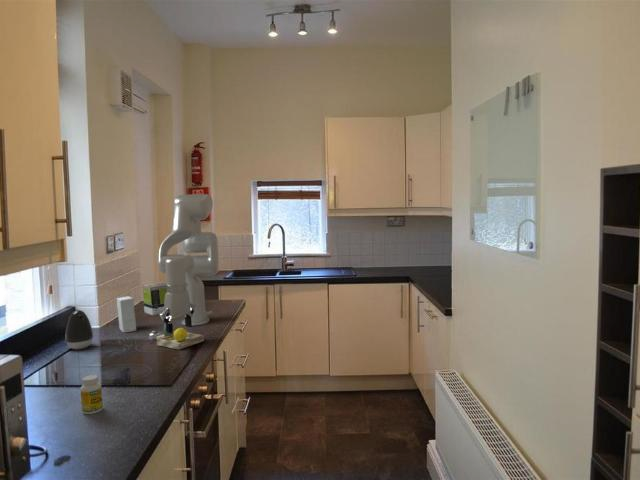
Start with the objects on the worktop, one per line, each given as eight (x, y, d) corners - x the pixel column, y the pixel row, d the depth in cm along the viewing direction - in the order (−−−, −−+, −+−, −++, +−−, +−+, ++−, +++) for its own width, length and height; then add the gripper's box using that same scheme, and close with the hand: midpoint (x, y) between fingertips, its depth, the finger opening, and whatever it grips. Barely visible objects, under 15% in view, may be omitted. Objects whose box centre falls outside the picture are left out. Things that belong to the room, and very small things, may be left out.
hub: (156, 336, 216) (155, 328, 215) (163, 337, 213) (163, 330, 213) (146, 339, 212) (146, 331, 211) (154, 340, 209) (153, 333, 209)
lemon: (173, 340, 206) (172, 327, 206) (187, 339, 208) (186, 326, 208) (174, 343, 199) (173, 329, 200) (188, 341, 201) (187, 328, 201)
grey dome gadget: (72, 353, 195) (69, 314, 194) (62, 348, 202) (59, 311, 201) (98, 346, 203) (96, 309, 201) (87, 342, 210) (85, 306, 208)
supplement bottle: (93, 405, 145) (91, 373, 144) (107, 408, 143) (105, 375, 142) (77, 412, 140) (75, 379, 139) (91, 416, 138) (88, 382, 137)
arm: (147, 343, 205) (146, 326, 204) (172, 335, 216) (171, 319, 215) (179, 349, 195) (178, 332, 194) (203, 340, 206) (203, 324, 205)
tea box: (170, 307, 272) (169, 280, 270) (179, 310, 264) (178, 282, 263) (143, 312, 261) (142, 284, 260) (152, 315, 254) (150, 286, 253)
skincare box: (136, 330, 226) (134, 298, 224) (122, 333, 222) (120, 300, 221) (132, 327, 233) (130, 295, 231) (118, 329, 229) (116, 297, 228)
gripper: (186, 283, 211) (189, 323, 213) (152, 291, 197) (155, 334, 199) (199, 285, 207) (201, 325, 209) (165, 293, 193) (168, 337, 195)
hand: (179, 329), depth 204 cm, fingers open, 9 cm apart
